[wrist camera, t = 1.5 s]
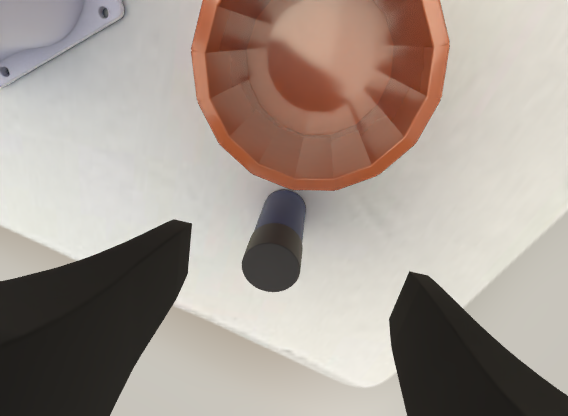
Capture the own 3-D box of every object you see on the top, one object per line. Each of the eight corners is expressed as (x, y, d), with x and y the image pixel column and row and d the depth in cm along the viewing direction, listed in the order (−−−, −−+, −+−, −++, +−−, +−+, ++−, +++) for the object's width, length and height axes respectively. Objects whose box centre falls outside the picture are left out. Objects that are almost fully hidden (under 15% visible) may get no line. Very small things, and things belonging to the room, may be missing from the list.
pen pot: (279, 161, 21) (257, 219, 14) (213, 17, 18) (145, 2, 11) (419, 105, 19) (473, 142, 12) (370, -68, 16) (404, -151, 9)
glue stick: (274, 233, 23) (256, 298, 17) (256, 197, 22) (231, 253, 16) (313, 219, 22) (309, 283, 16) (296, 182, 21) (285, 235, 15)
